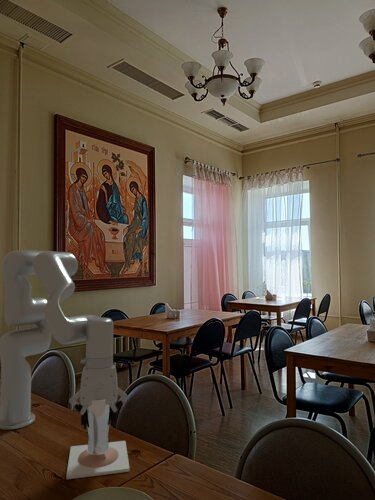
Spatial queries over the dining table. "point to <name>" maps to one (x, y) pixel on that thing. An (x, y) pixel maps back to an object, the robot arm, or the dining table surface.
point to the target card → (97, 461)
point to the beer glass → (98, 426)
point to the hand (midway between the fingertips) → (98, 425)
